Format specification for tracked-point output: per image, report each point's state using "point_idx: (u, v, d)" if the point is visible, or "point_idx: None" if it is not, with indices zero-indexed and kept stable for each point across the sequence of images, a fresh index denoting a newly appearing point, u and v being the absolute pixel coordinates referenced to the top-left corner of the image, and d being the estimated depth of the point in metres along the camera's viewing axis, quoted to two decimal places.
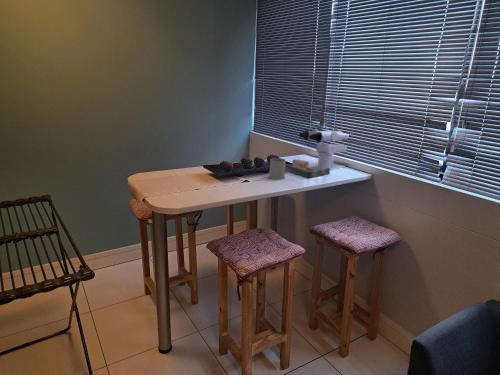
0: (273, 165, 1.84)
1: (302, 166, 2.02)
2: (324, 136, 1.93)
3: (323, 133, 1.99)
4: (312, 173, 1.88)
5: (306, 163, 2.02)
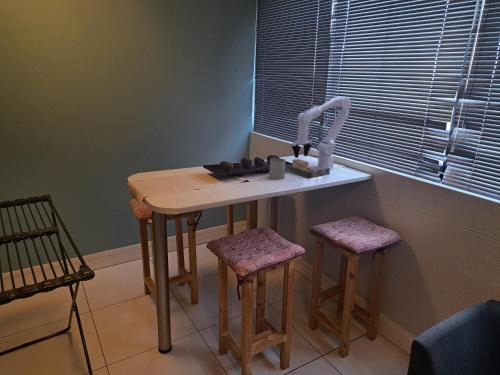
0: (273, 165, 1.84)
1: (302, 166, 2.02)
2: (292, 144, 1.98)
3: None
4: (312, 173, 1.88)
5: (306, 163, 2.02)
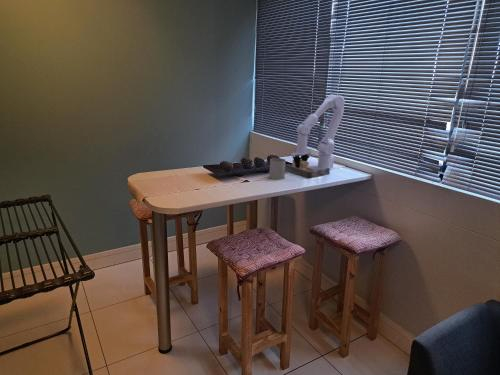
0: (273, 165, 1.84)
1: (302, 166, 2.02)
2: (291, 155, 2.00)
3: (297, 145, 2.02)
4: (312, 173, 1.88)
5: (306, 163, 2.02)
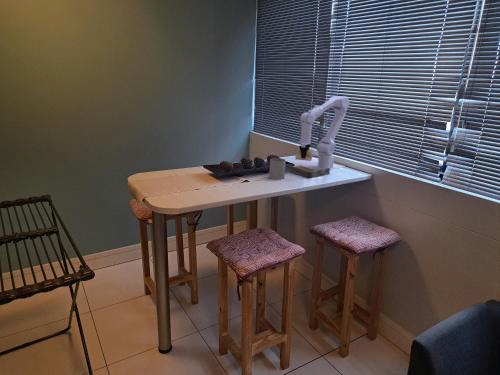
0: (273, 165, 1.84)
1: (309, 156, 1.97)
2: (301, 145, 1.92)
3: (302, 135, 1.95)
4: (312, 173, 1.88)
5: (312, 152, 1.99)
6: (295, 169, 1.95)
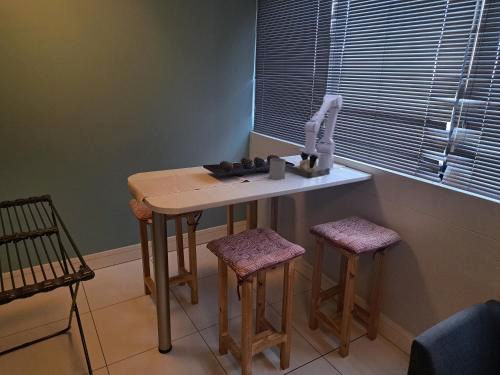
0: (273, 165, 1.84)
1: (315, 164, 1.97)
2: (318, 155, 1.89)
3: (311, 145, 1.90)
4: (312, 173, 1.88)
5: None
6: (295, 169, 1.95)
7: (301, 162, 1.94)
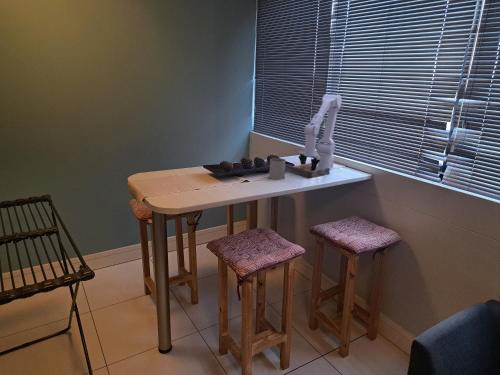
0: (273, 165, 1.84)
1: (315, 168, 1.98)
2: (318, 158, 1.89)
3: (310, 148, 1.91)
4: (312, 173, 1.88)
5: None
6: (295, 169, 1.95)
7: (301, 166, 1.95)
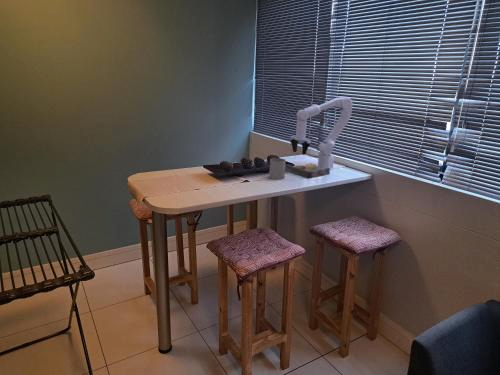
0: (273, 165, 1.84)
1: (315, 168, 1.98)
2: (308, 141, 1.99)
3: (301, 132, 2.01)
4: (312, 173, 1.88)
5: None
6: (295, 169, 1.95)
7: (301, 166, 1.95)
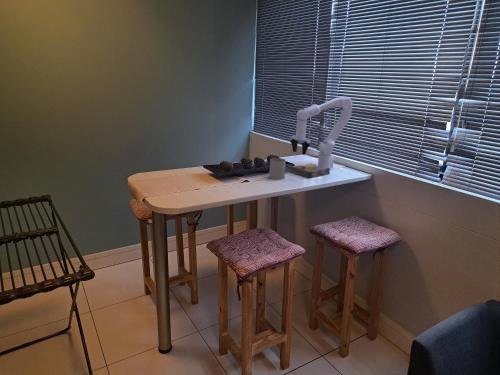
0: (273, 165, 1.84)
1: (315, 168, 1.98)
2: (308, 141, 1.99)
3: (301, 132, 2.01)
4: (312, 173, 1.88)
5: None
6: (295, 169, 1.95)
7: (301, 166, 1.95)
